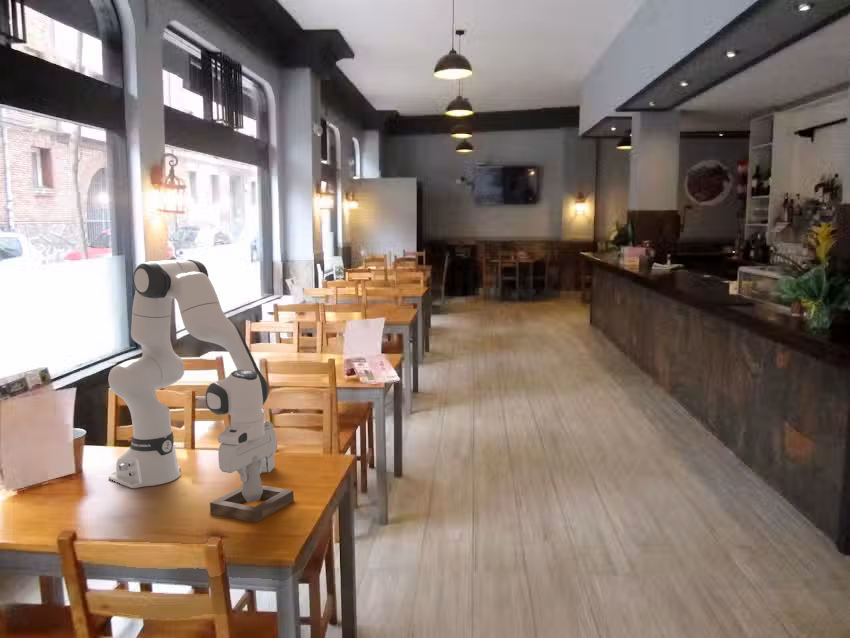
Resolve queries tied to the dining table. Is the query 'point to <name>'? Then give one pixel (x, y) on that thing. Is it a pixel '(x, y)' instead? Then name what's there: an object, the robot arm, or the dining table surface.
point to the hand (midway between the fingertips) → (251, 477)
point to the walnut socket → (232, 509)
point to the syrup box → (268, 464)
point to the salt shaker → (252, 482)
